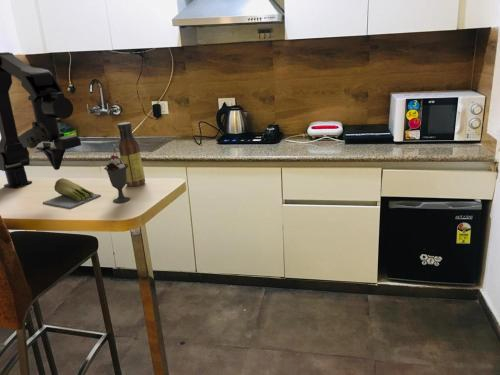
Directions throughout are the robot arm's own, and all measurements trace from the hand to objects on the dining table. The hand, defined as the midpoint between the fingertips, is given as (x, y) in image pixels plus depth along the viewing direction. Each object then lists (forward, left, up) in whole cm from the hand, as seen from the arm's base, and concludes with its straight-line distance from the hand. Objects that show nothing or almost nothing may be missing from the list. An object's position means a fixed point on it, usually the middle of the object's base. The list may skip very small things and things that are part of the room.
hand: (57, 169), depth 126 cm
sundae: (+19, +5, -9) cm, 22 cm away
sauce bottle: (+12, +18, -9) cm, 23 cm away
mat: (+4, 0, -9) cm, 10 cm away
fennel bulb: (-3, +2, -6) cm, 7 cm away
